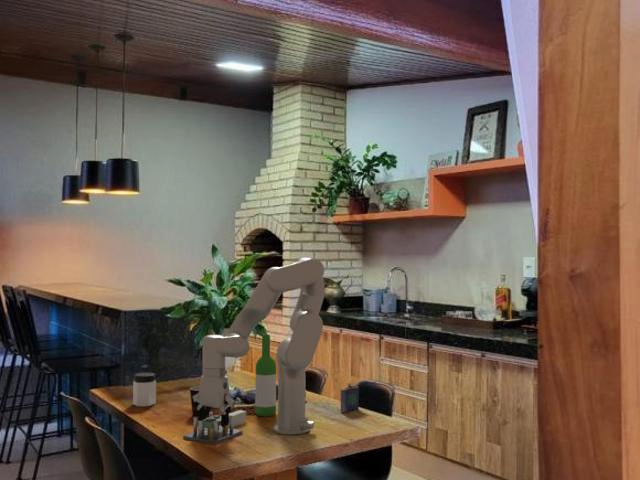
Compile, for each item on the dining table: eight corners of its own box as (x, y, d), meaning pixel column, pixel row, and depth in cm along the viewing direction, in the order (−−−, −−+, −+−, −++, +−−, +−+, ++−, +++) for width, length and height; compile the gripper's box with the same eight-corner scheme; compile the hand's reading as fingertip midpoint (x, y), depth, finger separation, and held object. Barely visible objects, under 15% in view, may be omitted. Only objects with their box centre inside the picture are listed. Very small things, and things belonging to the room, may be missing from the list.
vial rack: (242, 433, 218) (242, 414, 218) (214, 444, 205) (214, 424, 205) (212, 427, 224) (212, 409, 224) (183, 438, 211) (183, 418, 211)
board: (230, 421, 217) (230, 415, 217) (210, 428, 209) (211, 422, 209) (216, 419, 220) (216, 413, 220) (196, 426, 212) (196, 419, 212)
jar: (145, 407, 253) (145, 377, 253) (129, 405, 256) (129, 375, 256) (159, 402, 261) (160, 373, 261) (143, 400, 264) (143, 371, 264)
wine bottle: (251, 415, 242) (251, 335, 242) (262, 410, 248) (263, 333, 249) (268, 417, 238) (269, 336, 238) (279, 413, 245) (280, 334, 245)
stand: (246, 422, 232) (246, 411, 232) (232, 427, 225) (232, 416, 225) (239, 421, 233) (239, 410, 233) (225, 426, 226) (225, 414, 226)
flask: (343, 413, 245) (343, 385, 245) (338, 412, 247) (338, 384, 247) (360, 409, 251) (360, 382, 251) (354, 408, 253) (355, 381, 253)
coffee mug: (184, 415, 240) (185, 389, 241) (199, 410, 248) (199, 384, 248) (209, 419, 235) (210, 392, 235) (223, 414, 243) (224, 388, 243)
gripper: (241, 373, 214) (241, 424, 213) (201, 368, 222) (200, 417, 222) (227, 376, 207) (226, 430, 207) (186, 371, 216) (186, 422, 215)
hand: (213, 423), depth 214 cm, fingers open, 9 cm apart
